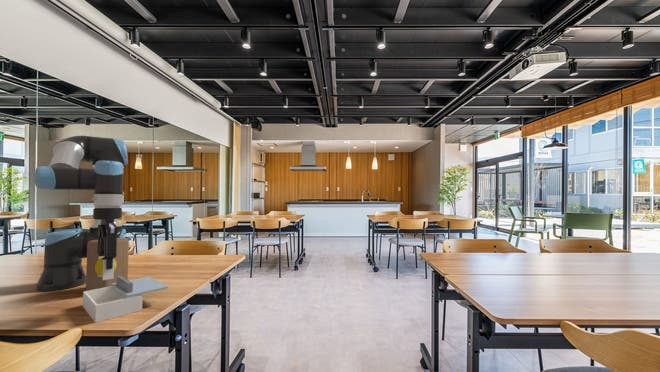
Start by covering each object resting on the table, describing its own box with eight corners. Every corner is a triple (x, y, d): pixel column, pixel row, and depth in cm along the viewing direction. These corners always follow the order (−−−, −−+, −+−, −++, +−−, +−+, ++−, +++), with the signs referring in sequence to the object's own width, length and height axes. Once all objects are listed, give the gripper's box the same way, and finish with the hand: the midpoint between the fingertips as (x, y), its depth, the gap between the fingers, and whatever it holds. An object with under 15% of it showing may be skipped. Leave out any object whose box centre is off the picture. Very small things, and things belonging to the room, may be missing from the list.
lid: (111, 285, 101) (112, 275, 101) (149, 278, 110) (149, 268, 110) (127, 297, 89) (127, 285, 89) (168, 288, 98) (168, 277, 98)
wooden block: (105, 294, 107) (106, 241, 108) (84, 292, 109) (86, 240, 110) (128, 286, 117) (130, 238, 118) (109, 284, 119) (110, 237, 120)
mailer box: (82, 306, 95) (83, 291, 95) (125, 296, 104) (125, 283, 104) (95, 322, 83) (96, 305, 83) (142, 310, 92) (142, 294, 92)
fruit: (119, 275, 95) (120, 252, 96) (108, 280, 90) (109, 255, 90) (102, 276, 95) (103, 252, 95) (89, 280, 89) (91, 255, 90)
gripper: (87, 206, 96) (85, 274, 95) (100, 208, 84) (97, 285, 83) (114, 206, 102) (112, 270, 101) (129, 207, 90) (127, 280, 89)
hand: (105, 277), depth 92 cm, fingers closed on fruit, 6 cm apart
